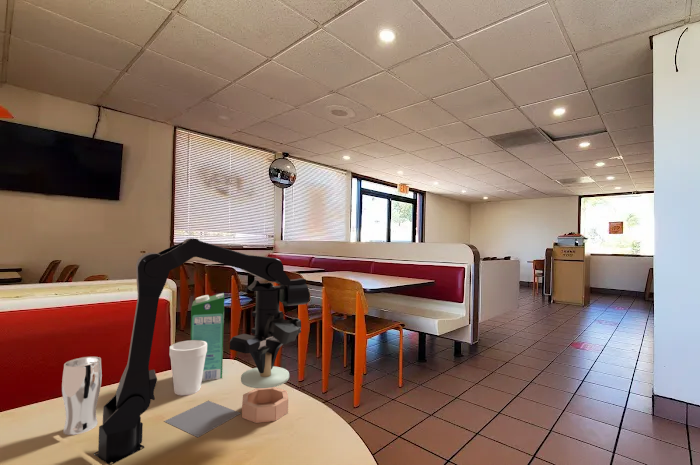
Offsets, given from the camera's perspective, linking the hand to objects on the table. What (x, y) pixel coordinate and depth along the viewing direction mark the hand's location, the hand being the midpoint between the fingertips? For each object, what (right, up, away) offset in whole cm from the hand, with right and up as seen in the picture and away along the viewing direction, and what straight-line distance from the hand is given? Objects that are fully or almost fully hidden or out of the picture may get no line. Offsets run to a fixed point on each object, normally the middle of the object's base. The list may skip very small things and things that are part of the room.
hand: (265, 371), depth 86 cm
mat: (-14, -10, -4) cm, 17 cm away
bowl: (0, -10, 0) cm, 10 cm away
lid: (0, -2, 0) cm, 2 cm away
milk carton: (-24, -10, +21) cm, 33 cm away
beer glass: (-39, -10, -9) cm, 41 cm away
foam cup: (-24, -10, +10) cm, 28 cm away
